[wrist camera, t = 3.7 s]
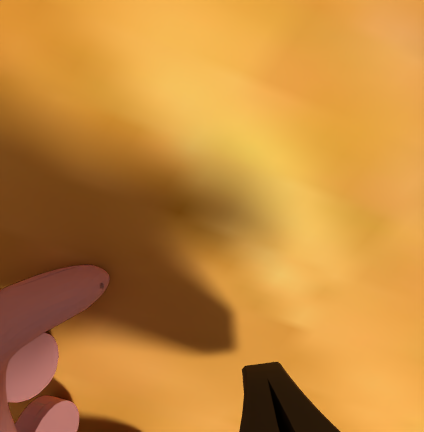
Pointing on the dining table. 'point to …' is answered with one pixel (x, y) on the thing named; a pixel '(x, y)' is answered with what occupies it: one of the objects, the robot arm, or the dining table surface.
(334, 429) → the robot arm
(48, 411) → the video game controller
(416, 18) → the dining table surface
